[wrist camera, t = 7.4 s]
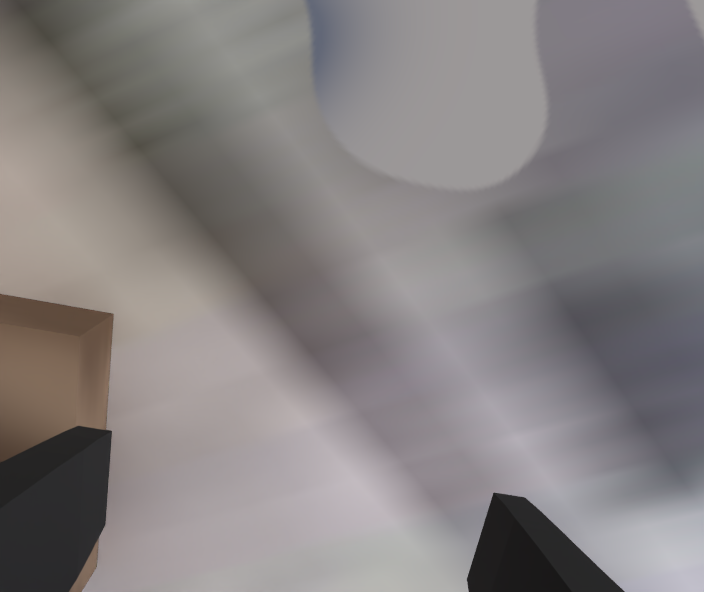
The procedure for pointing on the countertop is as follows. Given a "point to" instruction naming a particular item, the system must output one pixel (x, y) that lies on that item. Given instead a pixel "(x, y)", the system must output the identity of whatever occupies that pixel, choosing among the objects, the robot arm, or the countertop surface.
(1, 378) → the stand
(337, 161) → the countertop surface
